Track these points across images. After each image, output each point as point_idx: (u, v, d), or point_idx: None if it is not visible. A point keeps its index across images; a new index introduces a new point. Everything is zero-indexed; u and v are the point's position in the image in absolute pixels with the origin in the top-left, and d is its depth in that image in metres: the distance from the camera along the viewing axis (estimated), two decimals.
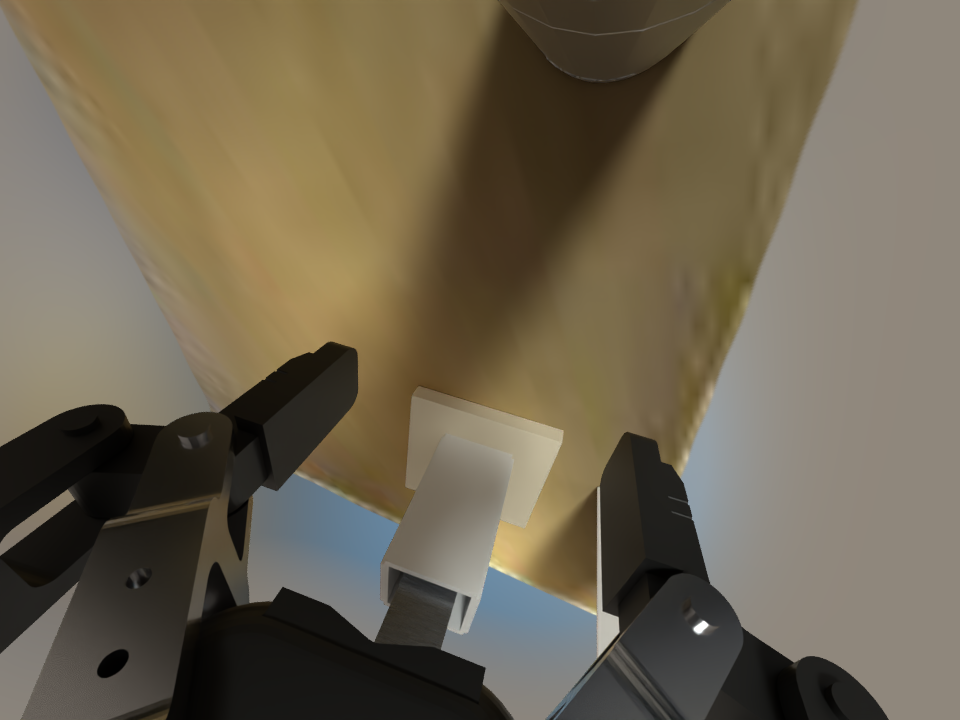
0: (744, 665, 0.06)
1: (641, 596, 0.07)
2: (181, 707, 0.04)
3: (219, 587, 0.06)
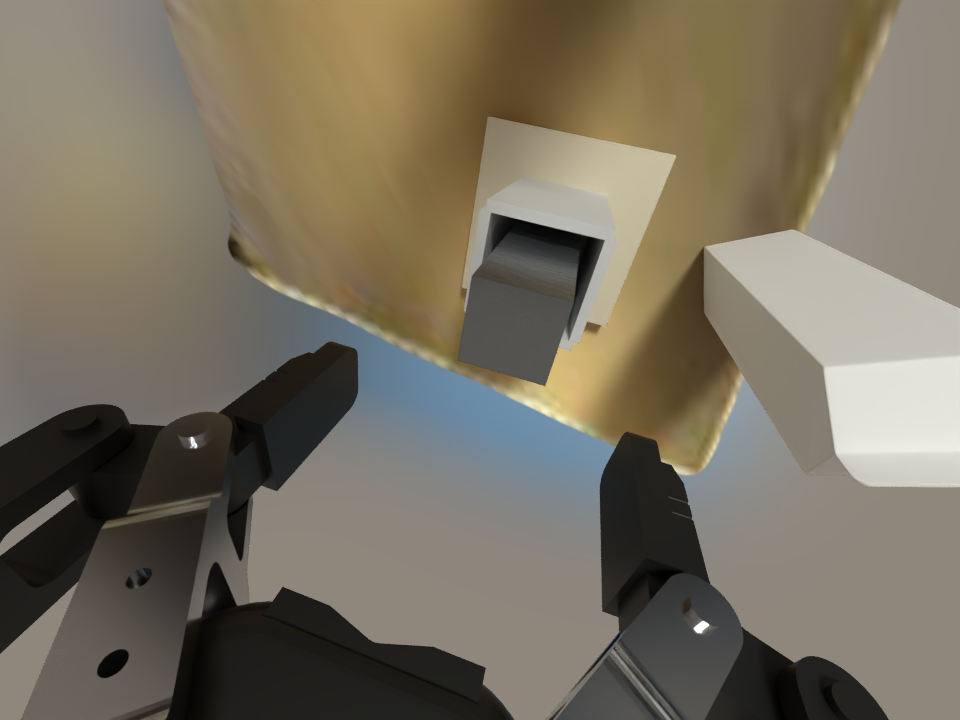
0: (744, 665, 0.06)
1: (641, 596, 0.07)
2: (181, 707, 0.04)
3: (219, 587, 0.06)
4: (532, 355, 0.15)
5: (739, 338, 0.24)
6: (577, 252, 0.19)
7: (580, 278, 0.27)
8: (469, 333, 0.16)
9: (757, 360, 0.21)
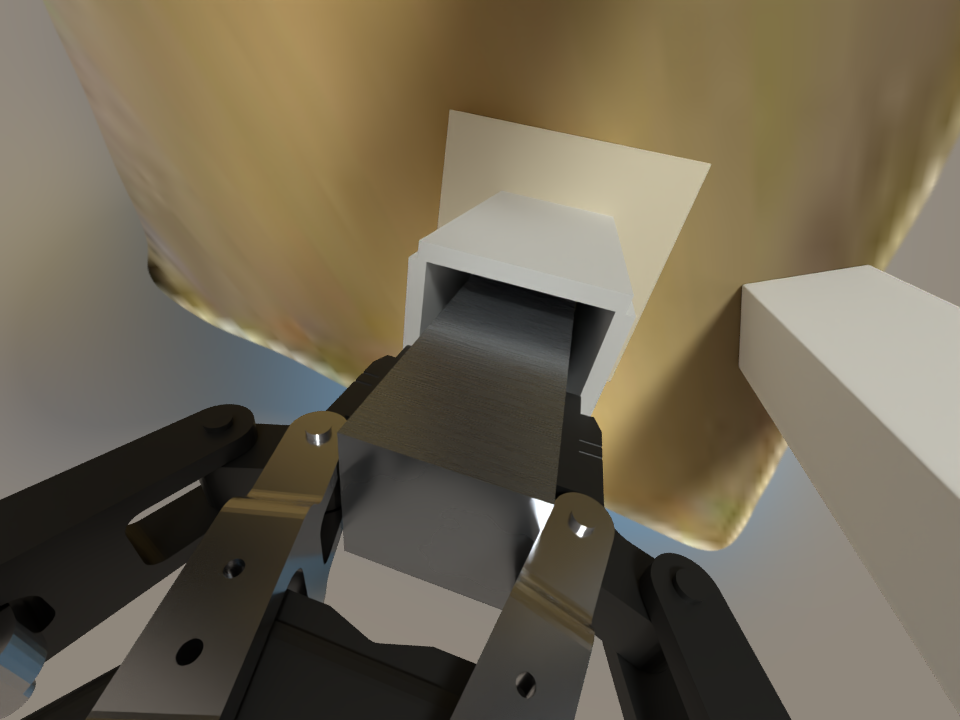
0: (617, 563, 0.07)
1: None
2: None
3: (299, 589, 0.06)
4: (476, 567, 0.08)
5: (809, 433, 0.16)
6: (569, 325, 0.12)
7: (576, 335, 0.19)
8: (354, 518, 0.08)
9: (850, 485, 0.14)
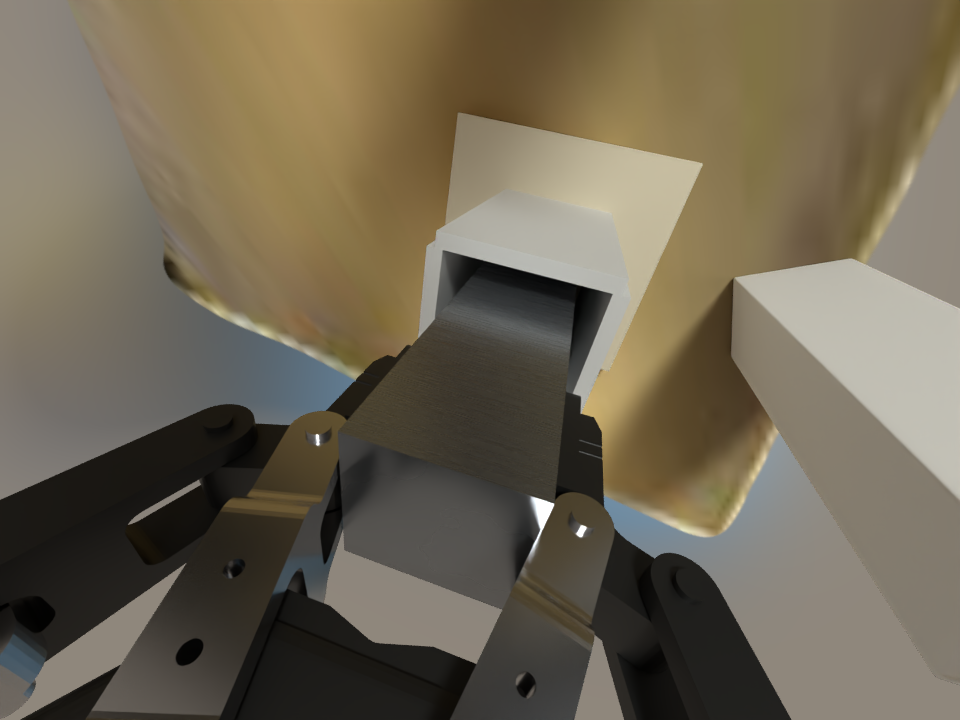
0: (617, 563, 0.07)
1: None
2: None
3: (299, 589, 0.06)
4: (476, 567, 0.08)
5: (793, 412, 0.17)
6: (569, 326, 0.12)
7: (577, 323, 0.20)
8: (354, 518, 0.08)
9: (828, 455, 0.15)
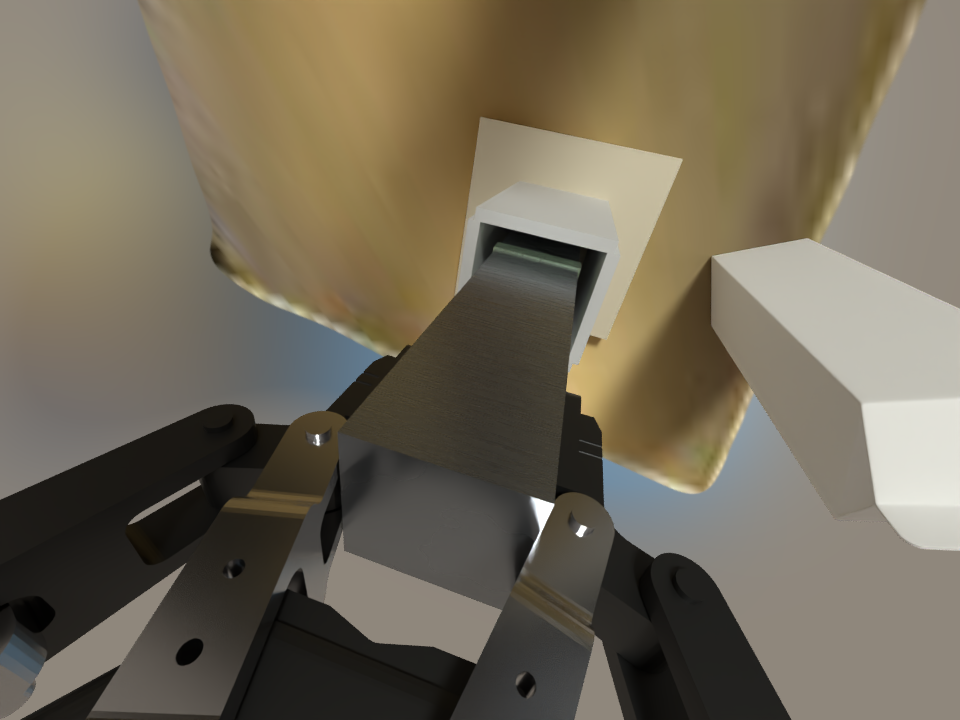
0: (616, 563, 0.07)
1: None
2: None
3: (299, 589, 0.06)
4: (476, 567, 0.08)
5: (752, 357, 0.22)
6: (569, 326, 0.12)
7: (579, 290, 0.25)
8: (354, 518, 0.08)
9: (774, 383, 0.19)
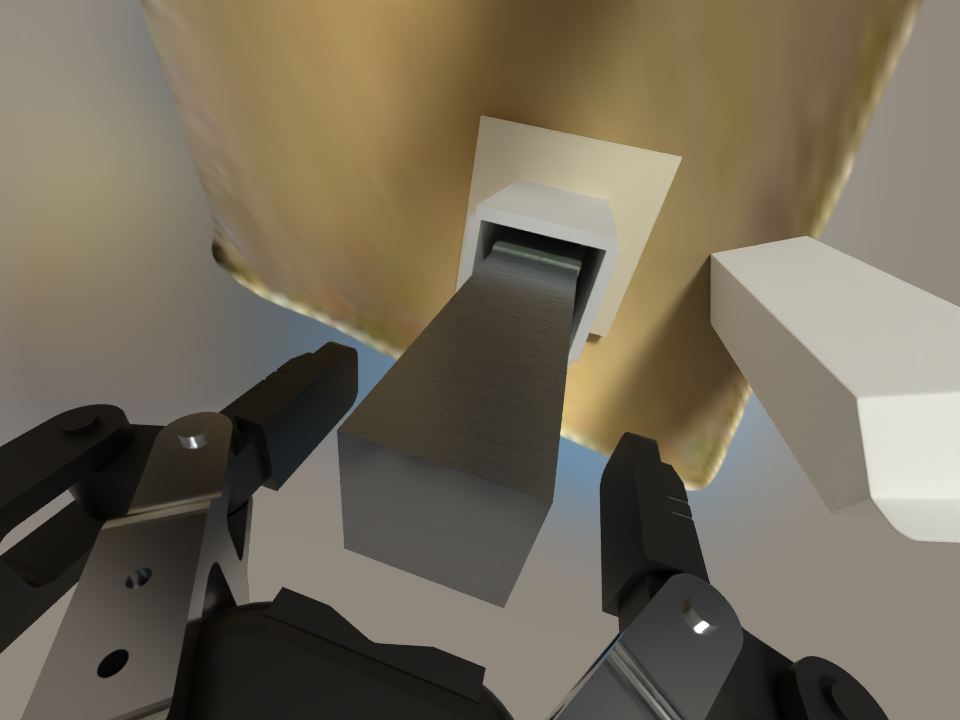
0: (744, 665, 0.06)
1: (641, 596, 0.07)
2: (180, 707, 0.04)
3: (219, 587, 0.06)
4: (475, 564, 0.08)
5: (751, 354, 0.22)
6: (568, 324, 0.12)
7: (579, 288, 0.25)
8: (354, 516, 0.08)
9: (772, 380, 0.19)
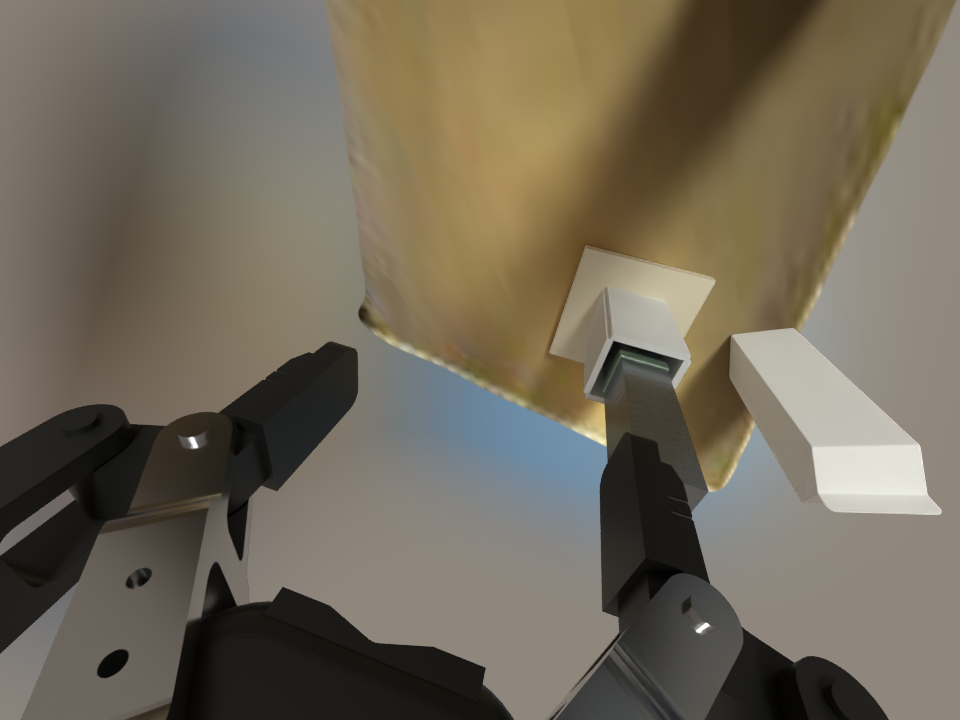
0: (744, 665, 0.06)
1: (641, 596, 0.07)
2: (182, 707, 0.04)
3: (219, 587, 0.06)
4: None
5: (758, 408, 0.36)
6: (681, 413, 0.26)
7: None
8: None
9: (771, 427, 0.34)
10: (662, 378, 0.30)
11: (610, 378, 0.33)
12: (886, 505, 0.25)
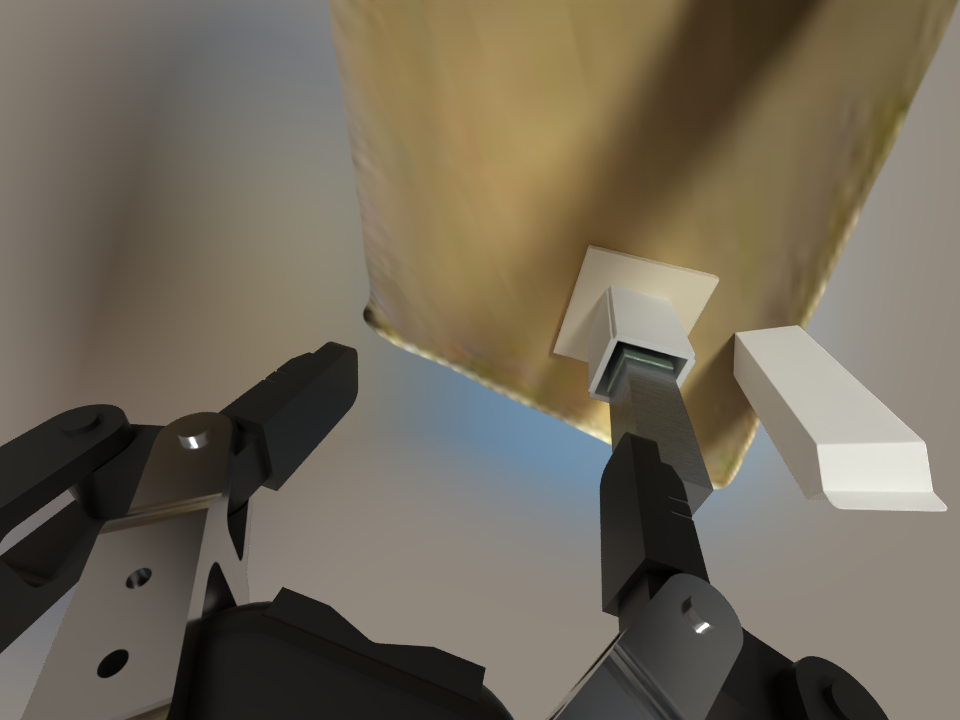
0: (744, 665, 0.06)
1: (641, 596, 0.07)
2: (181, 707, 0.04)
3: (219, 587, 0.06)
4: None
5: (763, 406, 0.36)
6: (685, 412, 0.26)
7: None
8: None
9: (776, 425, 0.34)
10: (666, 377, 0.30)
11: (614, 377, 0.33)
12: (892, 502, 0.25)
